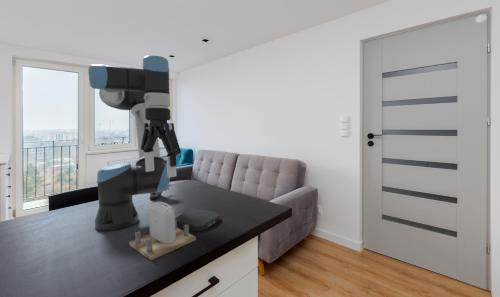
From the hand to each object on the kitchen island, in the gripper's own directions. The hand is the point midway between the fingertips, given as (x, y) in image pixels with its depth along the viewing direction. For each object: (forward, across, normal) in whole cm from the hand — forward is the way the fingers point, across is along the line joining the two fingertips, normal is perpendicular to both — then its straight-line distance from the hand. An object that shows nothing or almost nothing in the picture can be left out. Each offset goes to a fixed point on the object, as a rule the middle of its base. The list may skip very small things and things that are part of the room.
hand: (160, 173), depth 79 cm
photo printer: (+22, +1, 0) cm, 22 cm away
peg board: (+23, +1, 0) cm, 23 cm away
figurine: (+24, -47, +25) cm, 59 cm away
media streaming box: (+24, -4, +18) cm, 30 cm away
